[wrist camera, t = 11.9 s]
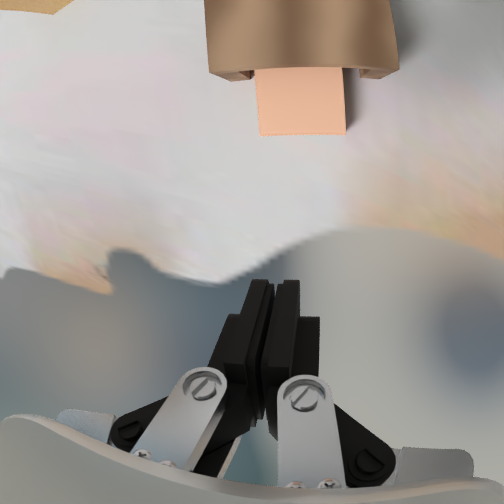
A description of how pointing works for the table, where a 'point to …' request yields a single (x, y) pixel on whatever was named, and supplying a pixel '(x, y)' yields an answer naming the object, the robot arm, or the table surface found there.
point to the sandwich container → (34, 5)
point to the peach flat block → (300, 101)
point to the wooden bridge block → (300, 36)
